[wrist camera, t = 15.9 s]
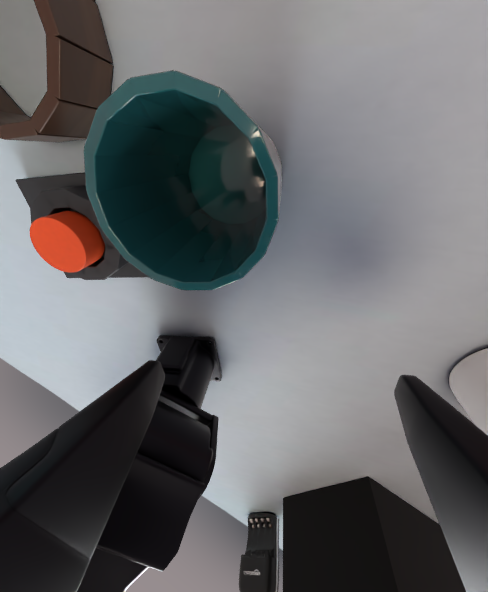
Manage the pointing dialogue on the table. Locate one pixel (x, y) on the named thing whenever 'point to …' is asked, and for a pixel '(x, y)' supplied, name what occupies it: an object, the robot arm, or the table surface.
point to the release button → (67, 240)
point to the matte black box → (363, 543)
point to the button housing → (73, 197)
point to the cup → (182, 180)
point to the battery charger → (261, 555)
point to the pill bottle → (472, 387)
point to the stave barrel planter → (65, 76)
